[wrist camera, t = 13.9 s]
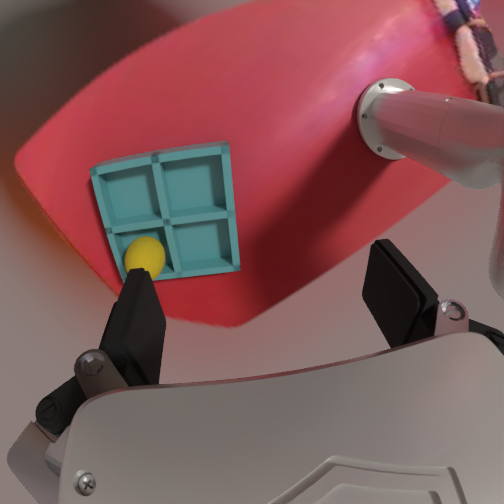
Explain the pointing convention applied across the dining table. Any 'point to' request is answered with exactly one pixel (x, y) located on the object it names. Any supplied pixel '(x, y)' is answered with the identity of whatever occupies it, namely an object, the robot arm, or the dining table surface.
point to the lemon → (145, 255)
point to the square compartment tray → (172, 207)
